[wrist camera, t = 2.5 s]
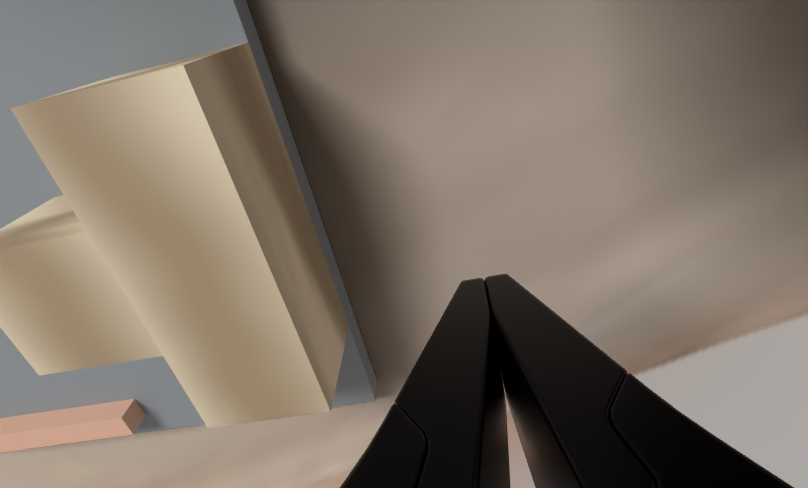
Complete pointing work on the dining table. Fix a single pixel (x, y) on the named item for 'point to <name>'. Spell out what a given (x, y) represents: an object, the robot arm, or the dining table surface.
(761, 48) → the dining table surface
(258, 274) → the t block
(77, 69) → the board
